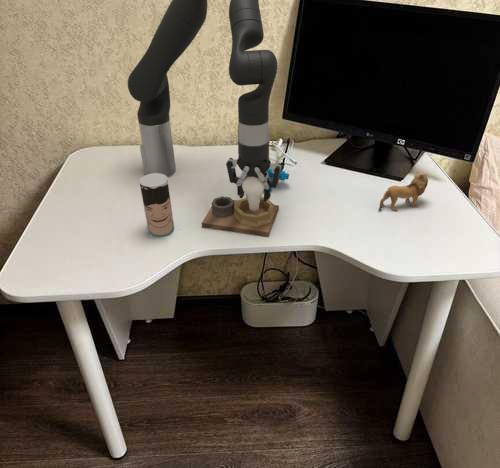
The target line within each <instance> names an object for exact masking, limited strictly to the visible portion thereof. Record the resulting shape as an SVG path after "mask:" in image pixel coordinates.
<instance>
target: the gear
mask: <svg viewBox="0 0 500 468" xmlns="http://www.w3.org/2000/svg"><path fill="white" fill-rule="evenodd" d="M267 173H268V175H269V179H270V181H273V176H274V173H273V172H272V169H271V168H269V169H268V170H267ZM289 177H290V173H287V172H286V171H285V170H281V171H280V176H279V181H281V182H283V181H286V180H289ZM273 189H274V188H271V192H273Z"/></svg>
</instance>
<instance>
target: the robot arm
mask: <svg viewBox="0 0 500 468" xmlns="http://www.w3.org/2000/svg"><path fill="white" fill-rule="evenodd" d="M259 2H260V0H230V2H229V5H228V19H229V26H230V31H231V32H230V33H231V53H230V56H229V64H228V76H229V78H230V80H231V81H232V82H233V84H235V85H237V86H253V85H257V87H256V88H255V89H253V90H250V91H248V92H245V93H242V94H241V95H240V96H239V97H238V99H237V100H238V101H237V112H238V113H237V115H238V117H237V118H238V123H237V148H238V149H237V151H238V152H237V153H238V157H237V158H236V159H235V158H233V157H229V158H228V160H227V161H226V163H225V165H226V171H227V175H228V178H229V179H228V180H229V183H231V184H235V185H236V190H237V192H236V194H237V196H238V197H239V199H243V198H244V196H245V193H244V191H243V188H242V182H243V180H244V178H245V176H247V177H256V178H259V179H260V181H261V182H262V183H263V185H264V187H265V189H264V192H263V197H264V201H267V200H269V201H270V198H271V195H272V191H271V188H273V189H276V188H277V186H278V184H279V181H280V180H279V176H280V172H281V171H282V163H281V162H278V163H272V162H271V161H272V160H270V138H271V137H270V135H271V134H270V123H269V114H270V113H269V110H270V109H269V104H270V98H271V94H272V89H273V86H274V84H275V80H276V77H277V73H278V66H279V65H278V59H277V57H276V55H275V53H274V52H273V51H271V50H269V49H257V50H256V49H255V50H250V49H254V48H256V47H258V46H260V44H262V42H263V40H264V37H265V36H264V35H265V34H264V28H263V27H264V26H263V21H262V16H261V15H262V14H261V10H260V3H259ZM207 15H208V0H171V2H170V3H169V5H168V7H167V9H166V10H165V12H164V14H163V16H162V18H161V21H160V23H159V24H158V26H157V28H156V30H155V32H154V35H153V36H152V39H151V40H150V41H151V42H150V43H149V45H148V48H147V50H145V53H144V54H143V56H142V58H141V59H139V62H138V63H137V64H136V66H135V67H134V68H133V69H132V71H131V72H130V74H129V76H128V79H127V89H128V92H129V94H130V96H131V97H132V98H133V99H134V100H135V101H137V102H139V106H138V109H137V112H136V113H137V121H138V126H139V133H140V138H141V144H140V146H139V150H140V155H141V163H142V167H143V173H144V175H147V174H152V173H160V174H164V175H166V176H167V178H168V177H171V176H172V175H174V174H175V173H176V171H177V168H176V161H175V160H176V159H175V151H174V143H173V142H174V141H173V135H172V127H171V119H170V117H171V116H170V110H171V97H170V96H171V95H170V84H169V78H168V75H167V74H168V72H169V70H170V69H171V67H172V66H173V65H174V63H175V62H176V61H177V60H178V59H179V58H180V57H181V56H182V55H183V54H184V53H185V51H186V50H187V49H188V48H189V46H190V45H191V44H192V43H193V41H194V40H195V38H196V37H197V35H198V34H199V32H200V30H201V29H202V26H203V25H204V24H205V22H206V18H207ZM237 166H238V168H239V169H240V170H241V173H240V176H239V177H238V176H237V175H238V174H237V172H236V167H237ZM269 168H270V169H271V170H272V172H273V173H274V176H273V181H270V179H269V175H268V173H267V170H268V169H269Z"/></svg>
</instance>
